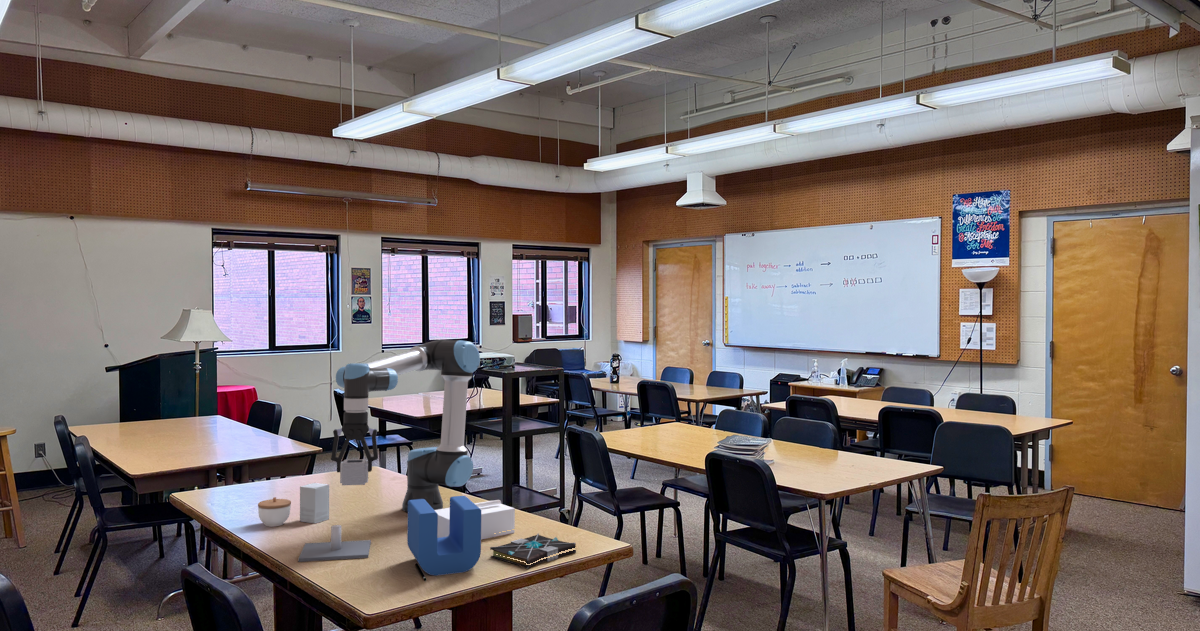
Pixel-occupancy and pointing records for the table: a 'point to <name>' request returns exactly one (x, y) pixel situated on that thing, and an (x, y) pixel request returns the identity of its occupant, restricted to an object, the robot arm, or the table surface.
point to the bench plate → (335, 554)
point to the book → (532, 550)
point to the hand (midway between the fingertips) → (354, 482)
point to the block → (445, 551)
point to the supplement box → (314, 503)
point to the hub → (353, 472)
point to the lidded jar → (274, 511)
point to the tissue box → (483, 519)
